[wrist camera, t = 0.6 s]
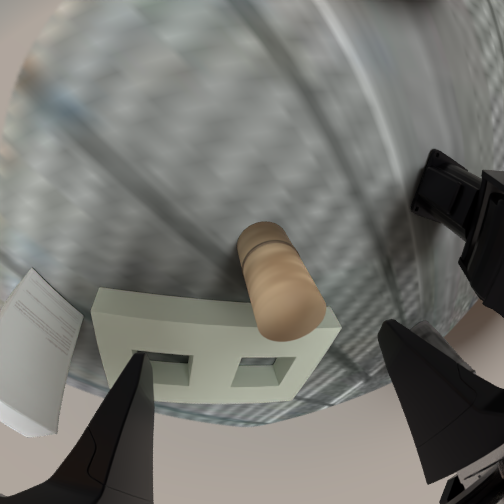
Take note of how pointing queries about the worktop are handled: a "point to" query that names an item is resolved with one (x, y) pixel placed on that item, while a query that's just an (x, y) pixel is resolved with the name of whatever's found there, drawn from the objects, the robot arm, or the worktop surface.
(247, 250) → the peg
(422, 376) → the robot arm
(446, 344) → the beverage cup
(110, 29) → the worktop surface
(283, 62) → the worktop surface
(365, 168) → the worktop surface
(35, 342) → the supplement box
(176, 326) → the board
